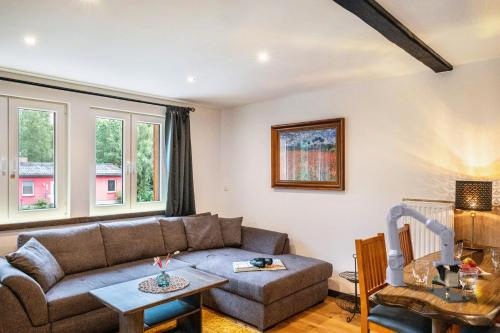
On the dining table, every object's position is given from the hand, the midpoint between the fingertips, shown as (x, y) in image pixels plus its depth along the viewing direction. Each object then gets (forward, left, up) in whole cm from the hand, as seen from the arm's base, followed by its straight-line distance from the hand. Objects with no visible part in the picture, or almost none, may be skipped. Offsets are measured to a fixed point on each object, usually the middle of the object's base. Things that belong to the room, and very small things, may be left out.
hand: (447, 280), depth 170 cm
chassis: (0, 0, -8) cm, 8 cm away
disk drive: (-15, +12, -8) cm, 21 cm away
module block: (0, 0, -2) cm, 2 cm away
